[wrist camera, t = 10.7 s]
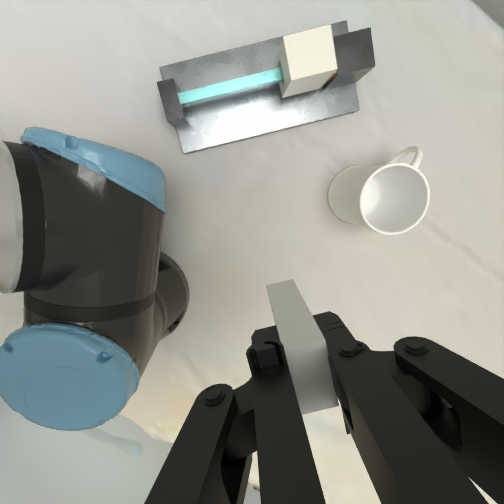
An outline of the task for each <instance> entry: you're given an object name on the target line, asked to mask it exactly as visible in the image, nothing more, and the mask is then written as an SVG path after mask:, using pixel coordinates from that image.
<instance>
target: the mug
mask: <svg viewBox="0 0 504 504" xmlns="http://www.w3.org/2000/svg"><path fill="white" fill-rule="evenodd" d="M411 152H416V154H415V157H414V159H413V161H412V163H411V164H410V165H409V164H405V163H396V162H397V161H399V160H400V159H401V158H403V157H404V156H406V155H407V154H409V153H411ZM422 157H423V152H422V150H421V149H420V148H419V147H417V146H412V147H408V148H406V149H404V150H402V151H401V152H399V153H398V154H397V155H395V156H394V157H393V158H392V159H391V160H389V161H388V162H387V163H386V164H380V165H371V166H363V165H354V166H350V167H347V168H345V169H343V170H342V171H341V172H339V173H338V174H337V175H336V176H335V178H334V179H333V181H332V182H331V184H330V187H329V191H328V202H329V206H330V208H331V210H332V212H333V213H334V214H335V216H337V217H338V218H339V219H340V220H342V221H345V222H348V223H354V224H357V225H360V226H362V227H365V228H368V229H370V230H373V231H376V232H378V233H381V234H385V235H397V234H401V233H404V232H406V231H408V230H410V229H412V228H413V227H414V226H416V225H417V224H418V223H419V222H420V221H421V219H422V218H423V216H424V215H425V213H426V211H427V209H428V206H429V201H430V189H429V185H428V182H427V180H426V178H425V176H424V175H423V174H422V173H421V172H420V171H419V170H418V169H417V168H418V166H419V165H420V163H421V160H422Z"/></svg>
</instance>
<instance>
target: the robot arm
mask: <svg viewBox="0 0 504 504" xmlns="http://www.w3.org/2000/svg"><path fill="white" fill-rule="evenodd" d="M20 138H21V143H23V144H18V143H12V142H6V141H0V292H1V293H14V292H21V291H24V323H23V327H22V328H20V329H18V330H16V331H14V332H13V333H11V334H10V335H9V336H8V338H7V339H6V340H5V342H4V344H3V345H2V346H1V347H0V396H1V397H2V398H3V400H4V401H5V402H6V403H7V404H8V405H9V406H10V407H11V408H12V409H13V410H14V411H16V412H19V413H20V414H21V415H23V416H24V417H25V418H26V419H27V420H29V421H31V422H33V423H36V424H38V425H41V426H44V427H47V428H51V429H56V430H64V431H78V430H86V429H91V428H94V427H97V426H99V425H102V424H103V423H105V422H106V421H108V420H109V419H112V418H114V417H115V416H116V415H117V414H118V413H119V412H121V410H122V409H123V408H124V407H125V405H126V403H127V402H128V400H129V399H130V397H131V396H132V395H133V394H134V392H135V391H136V390H137V387H138V385H139V382H140V378H141V376H142V374H143V372H144V370H145V368H146V366H147V364H148V362H149V360H150V358H151V356H152V354H153V351H154V349H155V347H156V345H157V343H158V341H160V340H161V339H163V338H164V337H166V336H168V335H169V334H170V333H171V332H173V331H174V330H175V329H176V327H177V326H178V325H179V324H180V322H181V320H182V319H183V317H184V314H185V312H186V309H187V306H188V302H189V288H188V283H187V280H186V278H185V275H184V274H183V272H182V270H181V269H180V267H179V266H178V265H177V264H176V263H175V262H174V261H173V260H172V259H171V258H170V257H168V256H167V255H165V254H164V253H162V252H160V246H161V236H162V225H163V215H165V214H166V208H165V206H164V205H165V185H166V181H165V176H164V174H163V172H162V171H161V169H160V168H159V167H158V166H157V165H155V164H154V163H152V162H151V161H149V160H146V159H144V158H142V157H139V156H136V155H134V154H131V153H128V152H125V151H122V150H119V149H116V148H113V147H110V146H107V145H103V144H100V143H97V142H93V141H90V140H86V139H78V138H76V137H74V136H70V135H66V134H63V133H61V132H57V131H53V130H49V129H44V128H39V127H28V128H26V129H25V130H24V133H23V135H21V136H20ZM266 287H267V291H268V295H269V299H270V303H271V307H272V311H273V316H274V320H275V324H276V325H275V326H271V327H267V328H263V329H259V330H255V332H254V333H253V335H252V337H251V339H252V345H251V346H250V347H249V348H248V349H247V352H246V355H247V359H248V363H249V366H250V370H251V373H252V377H251V378H250V380H249V381H248V382H246V383H245V384H244V385H242V386H240V387H238V388H236V389H234V390H233V389H232V387H231V386H229V385H227V384H216V385H212V386H210V387H208V388H206V389H205V390H203V391H202V392H201V393H200V394H199V395H198V397H197V398H196V400H195V402H194V404H193V406H192V408H191V410H190V412H189V414H188V416H187V418H186V420H185V422H184V424H183V426H182V428H181V430H180V432H179V434H178V436H177V438H176V440H175V442H174V444H173V446H172V448H171V451H170V453H169V455H168V457H167V459H166V461H165V463H164V465H163V467H162V469H161V471H160V473H159V475H158V477H157V479H156V481H155V483H154V485H153V487H152V489H151V491H150V493H149V495H148V498H147V499H146V501H145V503H144V504H243V502H244V498H245V493H246V488H247V483H248V478H249V473H250V468H251V463H252V453H253V452H255V451H257V455H258V469H259V482H260V496H261V504H326V503H325V499H324V495H323V492H322V488H321V484H320V481H319V477H318V473H317V470H316V466H315V462H314V459H313V455H312V451H311V448H310V444H309V440H308V436H307V433H306V429H305V425H304V422H303V418H302V414H306V413H311V412H315V411H319V410H323V409H327V408H332V407H336V406H339V403H338V399H339V401H340V403H341V408H342V412H343V417H344V422H345V427H346V432H347V434H350V433H351V435H352V437H353V440H354V442H355V444H356V447H357V449H358V451H359V453H360V456H361V458H362V460H363V463H364V465H365V467H366V469H367V472H368V474H369V476H370V478H371V481H372V483H373V485H374V488H375V490H376V492H377V494H378V497H379V499H380V501H381V504H488V502H487V501H486V500H485V498H484V497H483V496H482V494H481V493H480V492H479V490H478V489H477V488H476V487H475V485H474V484H473V483H472V481H474V482H475V483H476V484H477V485H478V486H479V487H480V488H481V489H482V490H483V491H484V492H486V493H487V494H488V495H489V496H490V497H491V498H492V499H493V500H494V501H495V502H496V503H498V504H504V379H503V378H501V377H499V376H497V375H495V374H494V373H492V372H490V371H488V370H486V369H484V368H482V367H480V366H479V365H477V364H475V363H473V362H471V361H469V360H467V359H465V358H464V357H462V356H460V355H458V354H456V353H454V352H452V351H450V350H449V349H447V348H445V347H443V346H441V345H439V344H437V343H435V342H434V341H432V340H429V339H426V338H422V337H406V338H402V339H400V340H398V341H397V342H395V344H394V346H393V347H394V351H372V350H370V349H369V347H368V346H367V345H366V344H364V343H363V342H360V341H357V340H355V338H354V337H353V336H352V334H351V333H350V331H349V330H348V329H347V327H345V325H344V323H343V322H342V320H341V319H340V318H339V316H338V315H336V314H334V313H332V312H330V311H329V312H325V313H321V314H317V315H313V316H312V314H311V312H310V310H309V309H308V307H307V305H306V303H305V301H304V299H303V298H302V296H301V294H300V292H299V290H298V288H297V286H296V285H295V283H294V281H293V279H292V280H288V281H284V282H280V283H276V284H272V285H267V286H266ZM337 397H338V398H337ZM469 478H470V479H471V480H472V481H471V480H470V479H469Z"/></svg>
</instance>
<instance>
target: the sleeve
mask: <svg viewBox="0 0 504 504" xmlns="http://www.w3.org/2000/svg"><path fill="white" fill-rule="evenodd" d="M275 64H276V69H277V68H281V67H282V72H283V77H284V81H282V82H279V85H280V90H281V95H282V98H284V97H288V96H292V95H296V94H300V93H304V92H308V91H312V90H316V89H320V88H321V87H322V86H323V85H324V84H325V82H326V81H327V80H328V79H329V78H330V77H331V76H332V75H333V73H334V72H335V71H336V70H337V62H336V56H335V49H334V43H333V36H332V30H331V24H330V25H326V26H322V27H319V28H315V29H311V30H307V31H303V32H299V33H295V34H291V35H287V36H283V38H282V42H281V45H280V48H279V51H278V55H277V58H276V61H275Z"/></svg>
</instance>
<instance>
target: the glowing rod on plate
mask: <svg viewBox="0 0 504 504" xmlns="http://www.w3.org/2000/svg"><path fill="white" fill-rule="evenodd" d="M318 28H319V27H318ZM314 29H315V28H314ZM310 30H311V29H310ZM331 30H332V36H333V43H334V49H335V56H336V62H337V70H336V71H335V72H334V73H333V75H332V76H331V77H330V78H329V79H328V80H327V81H326V82H325V84H324V85H323V86H322V87H321V88H320V89H316V90H312V91H308V92H304V93H300V94H296V95H292V96H288V97H284V98H282V95H281V90H280V85H279V82H282V81H284V77H283V72H282V67H281V68H277V69H276V64H275V61H276V58H277V55H278V51H279V48H280V45H281V42H282V38H283V36H282V37H278V38H274V39H270V40H266V41H262V42H258V43H254V44H250V45H246V46H242V47H238V48H234V49H230V50H226V51H222V52H218V53H214V54H210V55H206V56H202V57H198V58H194V59H190V60H186V61H182V62H178V63H174V64H170V65H166V66H162V67H159V68H160V71H161V75H162V79H163V81H159V82H157V85H158V89H159V92H160V96H161V99H162V103H163V106H164V110H165V113H166V117H167V120H168V122H169V123H170V124H171V125H173V126H174V127H175V128H176V129H177V133H178V136H179V140H180V143H181V147H182V151H183V153H184V154H187V153H191V152H195V151H199V150H203V149H207V148H211V147H215V146H219V145H223V144H227V143H231V142H235V141H239V140H243V139H248V138H252V137H256V136H260V135H264V134H268V133H272V132H276V131H280V130H284V129H288V128H292V127H296V126H300V125H304V124H308V123H312V122H317V121H321V120H325V119H329V118H333V117H337V116H341V115H345V114H349V113H353V112H357V111H358V110H359V104H358V97H357V89H356V82H357V81H358V80H359V79H360V78H362V77H363V76H364V75H365V74H366V73H368V72H369V71H370V70H371V69H372V68H374V67H375V60H374V52H373V44H372V36H371V28H366V29H362V30H358V31H354V32H350V33H348V26H347V20H346V21H342V22H338V23H334V24H331ZM306 31H307V30H306ZM302 32H303V31H302ZM298 33H299V32H298ZM294 34H295V33H294ZM290 35H291V34H290ZM286 36H287V35H286Z"/></svg>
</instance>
